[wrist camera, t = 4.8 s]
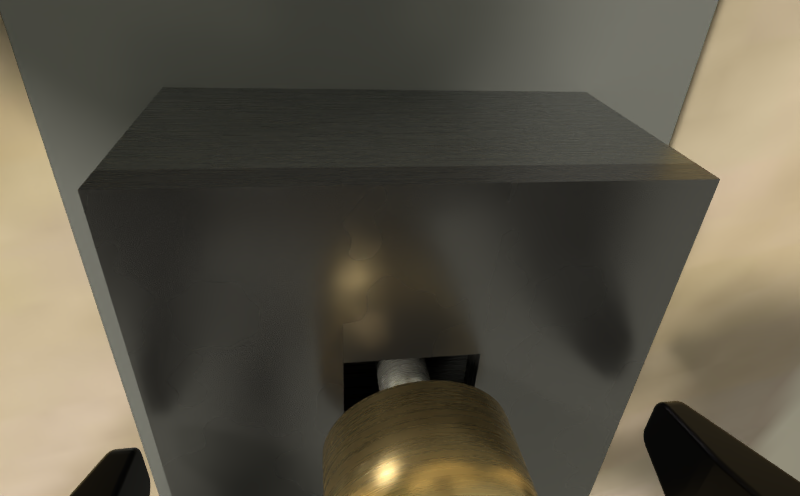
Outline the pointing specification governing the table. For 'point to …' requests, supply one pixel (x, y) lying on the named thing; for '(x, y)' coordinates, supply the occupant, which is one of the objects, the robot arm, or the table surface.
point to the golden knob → (423, 441)
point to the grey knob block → (385, 267)
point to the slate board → (327, 72)
